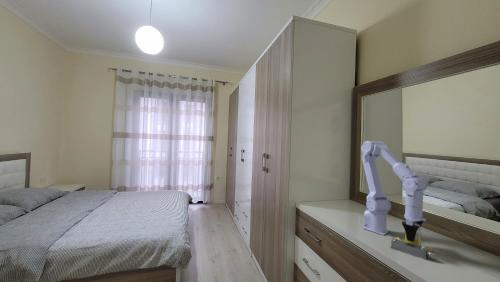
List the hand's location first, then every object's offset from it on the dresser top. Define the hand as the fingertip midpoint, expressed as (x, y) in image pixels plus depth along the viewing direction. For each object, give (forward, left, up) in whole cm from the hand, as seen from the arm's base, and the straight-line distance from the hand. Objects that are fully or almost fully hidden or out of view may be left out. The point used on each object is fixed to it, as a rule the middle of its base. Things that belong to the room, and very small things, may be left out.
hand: (412, 238), depth 89 cm
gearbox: (+1, -7, -3) cm, 8 cm away
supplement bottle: (0, 0, -4) cm, 4 cm away
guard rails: (0, -1, -4) cm, 4 cm away
